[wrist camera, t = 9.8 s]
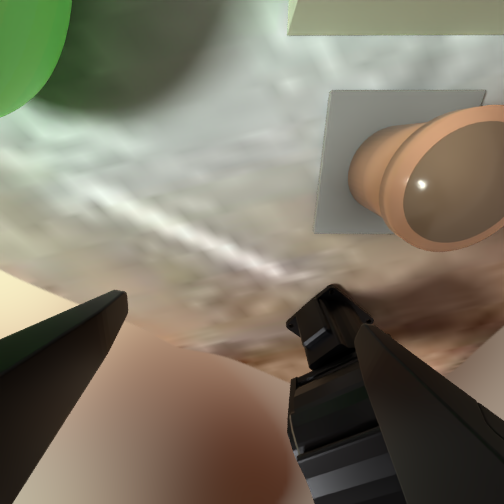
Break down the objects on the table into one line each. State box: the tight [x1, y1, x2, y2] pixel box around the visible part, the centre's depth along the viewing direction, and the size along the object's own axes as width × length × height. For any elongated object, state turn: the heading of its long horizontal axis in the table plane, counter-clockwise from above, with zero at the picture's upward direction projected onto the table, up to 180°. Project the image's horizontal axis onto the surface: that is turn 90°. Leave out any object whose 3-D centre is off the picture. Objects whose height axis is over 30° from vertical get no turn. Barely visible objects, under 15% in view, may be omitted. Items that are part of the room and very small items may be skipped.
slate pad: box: [313, 90, 486, 234], centre depth 18 cm, size 10×10×1 cm
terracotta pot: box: [348, 105, 504, 252], centre depth 14 cm, size 7×7×7 cm
